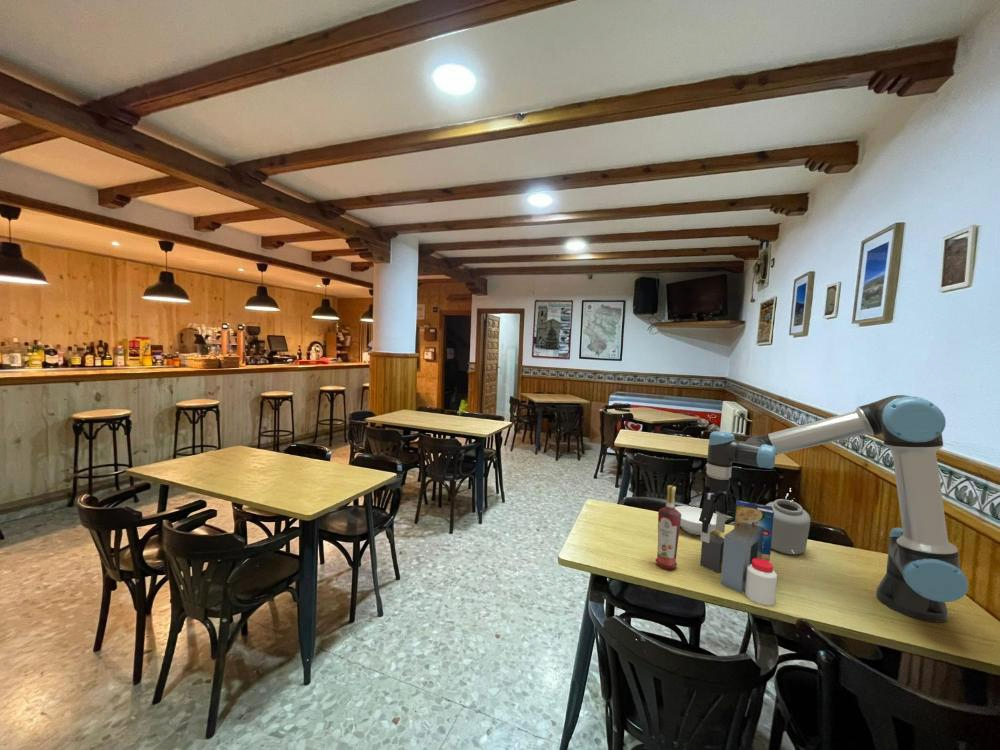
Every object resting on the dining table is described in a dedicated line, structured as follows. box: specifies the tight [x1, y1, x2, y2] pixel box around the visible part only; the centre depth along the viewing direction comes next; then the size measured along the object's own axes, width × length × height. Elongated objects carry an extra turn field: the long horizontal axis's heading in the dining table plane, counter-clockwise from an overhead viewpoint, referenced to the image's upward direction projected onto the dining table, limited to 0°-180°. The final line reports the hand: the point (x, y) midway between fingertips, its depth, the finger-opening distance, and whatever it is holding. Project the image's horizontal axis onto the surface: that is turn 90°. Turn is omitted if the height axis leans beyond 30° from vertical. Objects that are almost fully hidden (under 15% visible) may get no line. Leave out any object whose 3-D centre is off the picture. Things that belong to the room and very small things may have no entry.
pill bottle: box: [744, 558, 778, 607], centre depth 123 cm, size 8×8×11 cm
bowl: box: [675, 505, 717, 536], centre depth 170 cm, size 20×20×7 cm
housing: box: [720, 523, 764, 594], centre depth 134 cm, size 6×20×16 cm, turn 132°
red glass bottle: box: [655, 484, 681, 570], centre depth 139 cm, size 7×7×28 cm
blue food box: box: [733, 499, 774, 563], centre depth 142 cm, size 7×11×22 cm, turn 61°
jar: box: [765, 487, 811, 562], centre depth 156 cm, size 19×15×25 cm
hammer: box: [699, 533, 724, 574], centre depth 135 cm, size 20×6×10 cm, turn 42°
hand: (712, 536), depth 141 cm, fingers open, 13 cm apart
